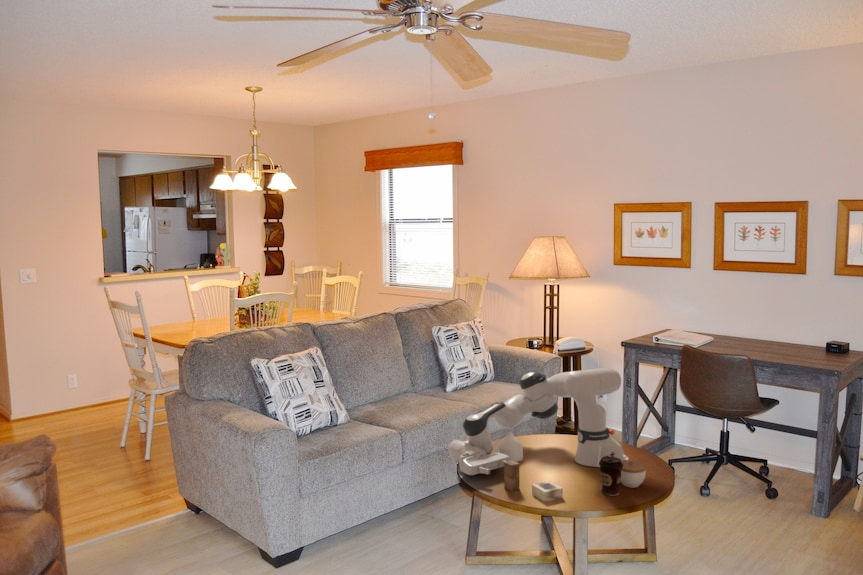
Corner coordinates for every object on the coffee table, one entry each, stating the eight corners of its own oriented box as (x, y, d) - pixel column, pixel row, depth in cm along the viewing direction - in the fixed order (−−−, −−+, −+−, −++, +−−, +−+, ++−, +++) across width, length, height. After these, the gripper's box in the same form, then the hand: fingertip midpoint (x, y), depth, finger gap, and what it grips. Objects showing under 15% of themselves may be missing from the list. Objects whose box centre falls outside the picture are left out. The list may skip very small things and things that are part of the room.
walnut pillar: (512, 485, 261) (512, 460, 260) (519, 488, 258) (519, 463, 257) (504, 488, 259) (504, 462, 258) (511, 491, 255) (511, 465, 254)
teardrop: (521, 453, 296) (521, 426, 295) (524, 462, 285) (524, 434, 284) (496, 453, 297) (496, 426, 295) (498, 462, 286) (498, 434, 284)
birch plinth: (549, 490, 256) (549, 480, 256) (562, 498, 249) (562, 488, 248) (531, 494, 253) (531, 484, 252) (544, 502, 246) (544, 492, 245)
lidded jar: (642, 492, 253) (642, 467, 252) (613, 486, 258) (613, 462, 257) (648, 482, 262) (648, 458, 262) (620, 477, 268) (620, 454, 267)
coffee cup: (607, 499, 247) (608, 464, 246) (593, 490, 255) (594, 457, 253) (627, 495, 251) (627, 460, 249) (612, 487, 258) (613, 453, 257)
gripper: (496, 461, 281) (519, 471, 269) (456, 472, 269) (478, 483, 258) (496, 446, 280) (519, 456, 269) (456, 456, 268) (478, 467, 257)
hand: (498, 469), depth 263 cm, fingers open, 8 cm apart
